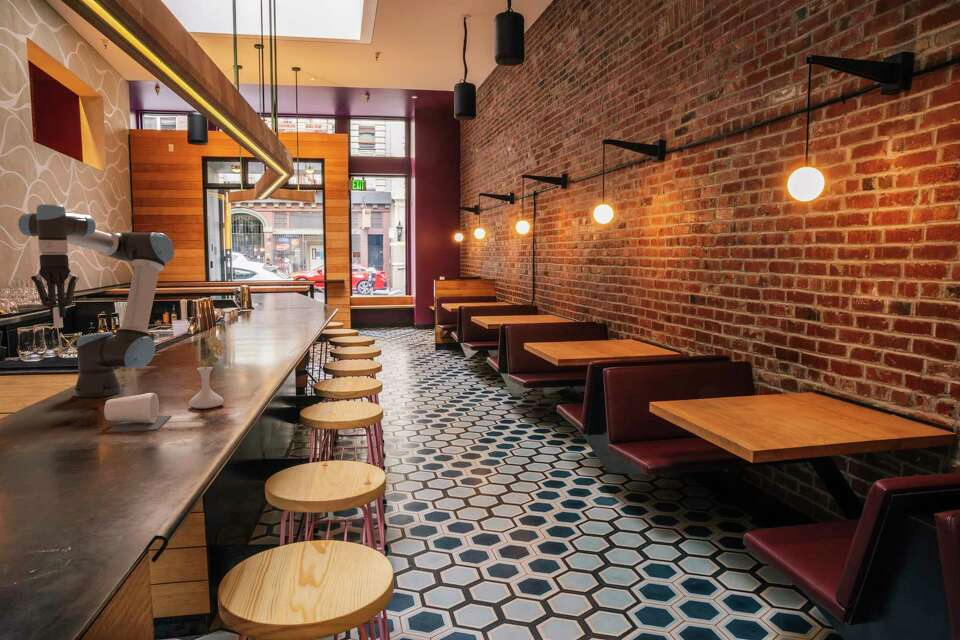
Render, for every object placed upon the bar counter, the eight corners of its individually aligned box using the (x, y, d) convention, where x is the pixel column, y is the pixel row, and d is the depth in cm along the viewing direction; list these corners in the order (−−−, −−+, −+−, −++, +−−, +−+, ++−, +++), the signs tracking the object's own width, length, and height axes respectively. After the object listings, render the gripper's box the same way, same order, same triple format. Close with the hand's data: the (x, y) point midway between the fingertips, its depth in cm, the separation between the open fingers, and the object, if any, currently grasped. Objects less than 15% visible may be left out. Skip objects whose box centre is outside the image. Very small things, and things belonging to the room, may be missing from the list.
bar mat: (124, 418, 197) (124, 417, 197) (171, 416, 200) (171, 415, 200) (106, 432, 181) (106, 431, 181) (157, 430, 184) (157, 428, 184)
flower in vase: (201, 412, 205) (198, 339, 203) (181, 408, 211) (178, 336, 209) (235, 404, 216) (232, 335, 214) (215, 400, 222) (212, 332, 220)
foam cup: (110, 430, 190) (155, 428, 192) (99, 418, 182) (146, 416, 184) (116, 402, 195) (160, 400, 197) (106, 389, 187) (152, 387, 189)
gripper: (24, 253, 189) (30, 329, 191) (71, 254, 191) (76, 328, 194) (36, 253, 196) (41, 326, 198) (81, 254, 199) (86, 325, 201)
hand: (58, 327), depth 196 cm, fingers closed
